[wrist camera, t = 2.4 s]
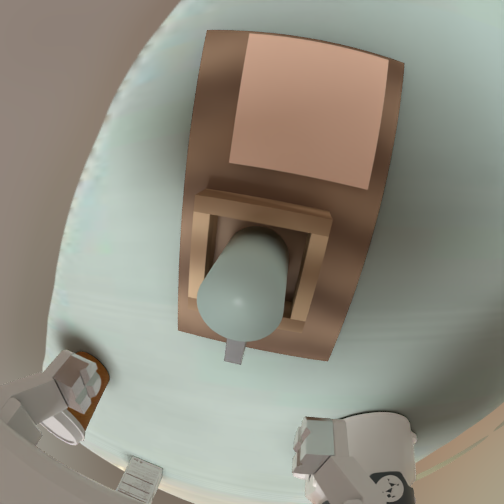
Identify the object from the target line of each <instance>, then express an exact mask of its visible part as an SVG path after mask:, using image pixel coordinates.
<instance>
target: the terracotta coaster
mask: <svg viewBox="0 0 504 504" xmlns="http://www.w3.org/2000/svg"><path fill="white" fill-rule="evenodd" d="M388 62H389V60H387V59H384V58H381V57H377V56H374V55H371V54H367V53H364V52H360V51H356V50H352V49H348V48H344V47H340V46H335V45H331V44H326V43H321V42H315V41H310V40H304V39H297V38H290V37H283V36H274V35H264V34H251V33H249V38H248V44H247V49H246V55H245V61H244V67H243V73H242V79H241V85H240V91H239V97H238V104H237V110H236V117H235V124H234V130H233V137H232V144H231V152H230V159H229V163H233V164H240V165H247V166H253V167H259V168H265V169H271V170H277V171H282V172H288V173H293V174H298V175H303V176H308V177H313V178H318V179H323V180H327V181H332V182H336V183H341V184H345V185H349V186H354V187H358V188H362V189H366V190H368V186H369V181H370V177H371V172H372V167H373V162H374V157H375V152H376V147H377V141H378V136H379V130H380V124H381V118H382V111H383V104H384V97H385V89H386V81H387V72H388Z"/></svg>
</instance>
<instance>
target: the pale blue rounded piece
mask: <svg viewBox="0 0 504 504" xmlns="http://www.w3.org/2000/svg"><path fill="white" fill-rule="evenodd" d="M288 263H289V252H288V248H287V246H286V243H285V242H284V240H283V239H282V238H281V237H280V236H279V235H278V234H277V233H276V232H274V231H273V230H271V229H268V228H266V227H261V226H251V227H246V228H244V229H241V230H240V231H238V232H237V233H236V234H235V235H234V236H233V237H232V238H231V239H230V241H229V242H228V244H227V245H226V247H225V248H224V250H223V251H222V253H221V254H220V256H219V257H218V259H217V261H216V262H215V264H214V265H213V267H212V268H211V270H210V271H209V273H208V274H207V276H206V277H205V279H204V280H203V282H202V283H201V285H200V287H199V290H198V293H197V306H198V310H199V313H200V315H201V317H202V319H203V320H204V322H205V323H206V324H207V325H208V326H209V327H210V328H211V329H212V330H213V331H214V332H216V333H218V334H219V335H221V336H223V337H225V338H227V342H226V350H225V358H224V361H226V362H231V363H235V364H240V365H241V362H242V359H243V355H244V351H245V348H246V344H247V342H249V341H256V340H259V339H262V338H265V337H266V336H268V335H270V334H271V333H272V332H273V331H274V330H275V329H276V328H277V327H278V326H279V324H280V322H281V320H282V317H283V312H284V303H285V293H286V283H287V273H288Z"/></svg>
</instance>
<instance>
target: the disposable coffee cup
mask: <svg viewBox="0 0 504 504" xmlns="http://www.w3.org/2000/svg"><path fill="white" fill-rule="evenodd" d="M76 354H77V355H79V356H81V357H83V358H85V359H88V360H90V361H92V362H94V363H96V366H97V368H98V369H97V370H96V372H97V373H98V374H99V376H100V378H101V386H100V390H99V392H98V394H97V395H96V396H95V397H92V398H91V404H90V406H89V408H88V409H87V411H86V412H85V414H82V413H80V412H78V411H76V410H74V409H72V408H70V407H68V408H67V409H65V410H63V411H61V412H59V413H57V414H56V415H54V416H52V417H50V418H48V419H46V420H44V421H42V422H41V423H40V424H41V425H43V426H44V427H45V428H46V429H47V430H48V431H49V432H51V433H52V434H53V435H55V436H56V437H58V438H59V439H61V440H62V441H64V442H66V443H68V444H71V445H77V444H78V443H79V442H80V441H84V439H85V430H86V428H87V426H88V424H89V422H90V419H91V417H92V415H93V413H94V411H95V409H96V407H97V404H98V402H99V400H100V398H101V396H102V394H103V392H104V390H105V388H106V386H107V384H108V382H109V374H108V372H107V370H106V369H105V367H104V366H103V365H102V364H101V363H100V362H99V361H98V360H97V359H96V358H95V357H93V356H92V355H90V354H88V353H86V352H81V351H80V352H77V353H76Z"/></svg>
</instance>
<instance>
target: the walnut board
mask: <svg viewBox="0 0 504 504" xmlns="http://www.w3.org/2000/svg"><path fill="white" fill-rule="evenodd" d="M249 33H251V34H264V35H274V36H283V37H290V38H297V39H304V40H310V41H315V42H321V43H326V44H331V45H335V46H340V47H344V48H348V49H352V50H356V51H360V52H364V53H367V54H371V55H374V56H377V57H381V58H384V59H387V60H389V62H388V72H387V81H386V89H385V97H384V104H383V111H382V118H381V124H380V130H379V136H378V141H377V147H376V152H375V157H374V162H373V167H372V172H371V177H370V181H369V186H368V190H366V189H362V188H358V187H354V186H349V185H345V184H341V183H336V182H332V181H327V180H323V179H318V178H313V177H308V176H303V175H298V174H293V173H288V172H282V171H277V170H271V169H265V168H259V167H253V166H247V165H240V164H233V163H229V159H230V152H231V144H232V137H233V130H234V124H235V117H236V110H237V104H238V97H239V91H240V85H241V79H242V73H243V67H244V61H245V55H246V49H247V44H248V38H249ZM403 74H404V63H402V62H399V61H397V60H394V59H391V58H388V57H384V56H381V55H378V54H375V53H371V52H368V51H364V50H361V49H357V48H353V47H349V46H345V45H341V44H336V43H332V42H327V41H322V40H316V39H311V38H305V37H298V36H292V35H284V34H275V33H265V32H253V31H234V30H207V33H206V37H205V42H204V47H203V53H202V58H201V64H200V69H199V75H198V81H197V87H196V94H195V100H194V107H193V114H192V121H191V129H190V137H189V145H188V154H187V163H186V173H185V183H184V195H183V207H182V221H181V237H180V257H179V286H178V330H179V331H182V332H186V333H190V334H194V335H198V336H201V337H205V338H210V339H214V340H218V341H222V342H227V338H225V337H223V336H221V335H219V334H218V333H216V332H214V331H213V330H212V329H211V328H210V327H209V326H208V325H207V324H206V323H205V322H204V320H203V319H202V317H201V315H200V313H199V310H198V306H197V293H198V290H199V287H200V285H201V283H202V282H203V280H204V279H205V277H206V276H207V274H208V273H209V271H210V270H211V268H212V267H213V265H214V264H215V262H216V261H217V259H218V257H219V256H220V254H221V253H222V251H223V250H224V248H225V247H226V245H227V244H228V242H229V241H230V239H231V238H232V237H233V236H234V235H235V234H236V233H237V232H238V231H240V230H241V229H244V228H246V227H251V226H261V227H266V228H268V229H271V230H273V231H274V232H276V233H277V234H278V235H279V236H280V237H281V238H282V239H283V240H284V242H285V243H286V246H287V248H288V252H289V263H288V273H287V283H286V293H285V303H284V312H283V317H282V320H281V322H280V324H279V326H278V327H277V328H276V329H275V330H274V331H273V332H272V333H271V334H270V335H268V336H266V337H265V338H262V339H259V340H256V341H249V342H247V344H246V347H249V348H254V349H259V350H264V351H269V352H274V353H279V354H285V355H290V356H296V357H302V358H308V359H315V360H321V361H328V360H329V357H330V355H331V353H332V350H333V348H334V345H335V343H336V340H337V338H338V335H339V333H340V330H341V328H342V325H343V323H344V320H345V317H346V315H347V312H348V309H349V306H350V304H351V301H352V298H353V295H354V292H355V289H356V286H357V283H358V280H359V277H360V274H361V271H362V268H363V265H364V262H365V259H366V255H367V252H368V249H369V245H370V242H371V238H372V235H373V231H374V228H375V224H376V220H377V217H378V213H379V209H380V205H381V201H382V197H383V192H384V188H385V184H386V179H387V175H388V170H389V165H390V160H391V155H392V150H393V145H394V139H395V134H396V128H397V121H398V115H399V108H400V100H401V92H402V84H403Z"/></svg>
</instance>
